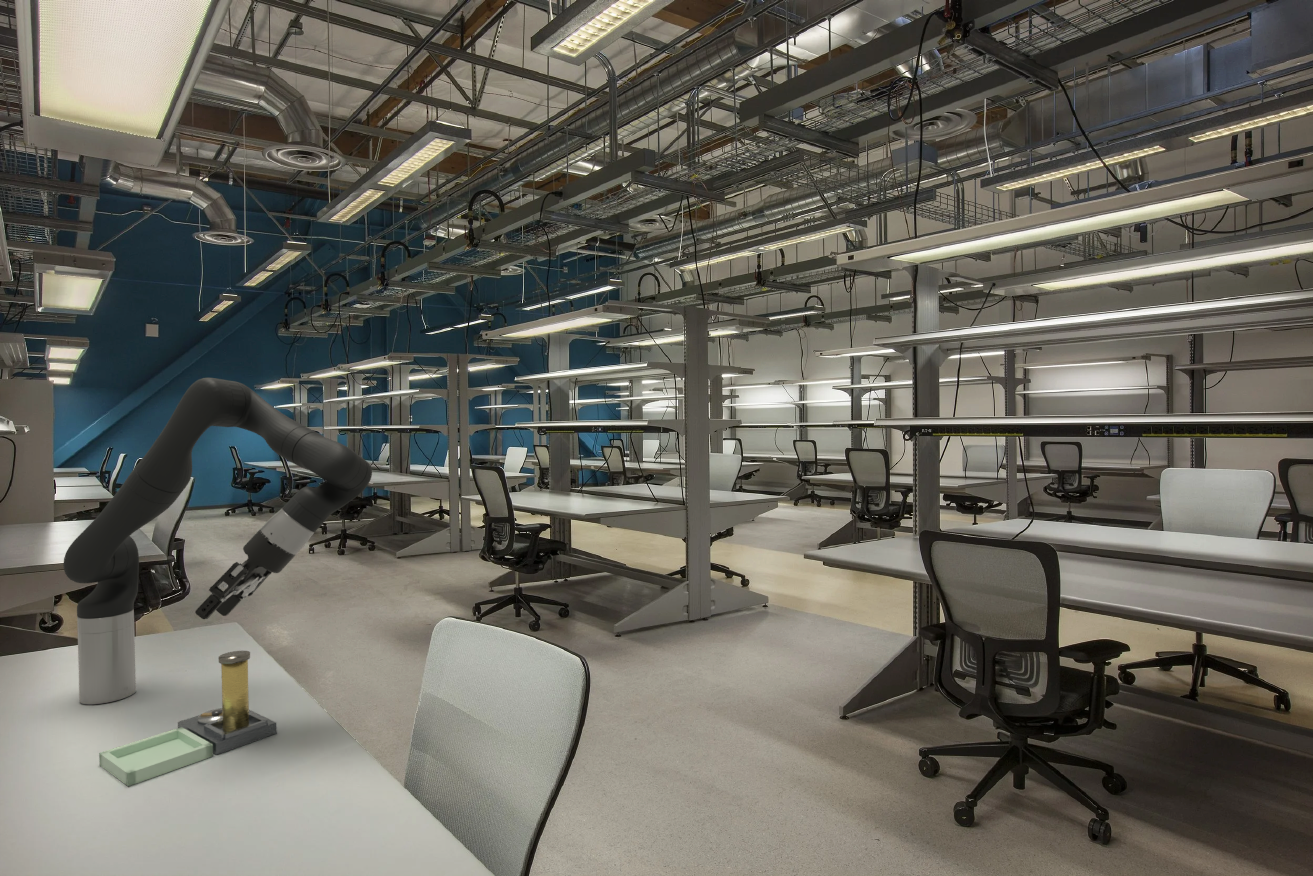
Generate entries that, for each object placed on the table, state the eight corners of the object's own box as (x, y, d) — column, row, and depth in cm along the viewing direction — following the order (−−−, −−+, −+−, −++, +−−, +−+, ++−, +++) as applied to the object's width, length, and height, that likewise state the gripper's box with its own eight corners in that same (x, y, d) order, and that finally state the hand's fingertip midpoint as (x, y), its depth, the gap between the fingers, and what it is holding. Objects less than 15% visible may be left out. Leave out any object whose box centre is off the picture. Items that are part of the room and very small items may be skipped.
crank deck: (177, 733, 129) (177, 716, 129) (236, 714, 137) (236, 698, 137) (216, 755, 120) (215, 736, 120) (276, 733, 128) (276, 716, 128)
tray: (99, 765, 117) (99, 753, 117) (181, 738, 126) (181, 727, 126) (128, 786, 110) (127, 773, 110) (212, 756, 120) (212, 744, 120)
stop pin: (215, 728, 126) (213, 656, 125) (243, 719, 130) (242, 649, 129) (227, 735, 123) (226, 661, 123) (256, 725, 127) (255, 653, 127)
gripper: (275, 529, 134) (209, 599, 130) (248, 524, 121) (174, 603, 117) (307, 554, 135) (242, 625, 131) (284, 552, 121) (211, 631, 117)
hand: (210, 614), depth 124 cm, fingers open, 8 cm apart
